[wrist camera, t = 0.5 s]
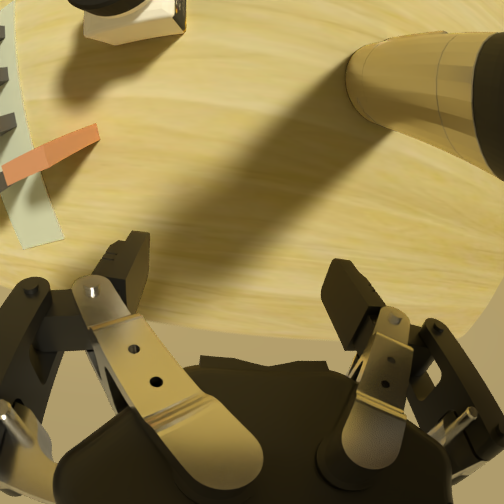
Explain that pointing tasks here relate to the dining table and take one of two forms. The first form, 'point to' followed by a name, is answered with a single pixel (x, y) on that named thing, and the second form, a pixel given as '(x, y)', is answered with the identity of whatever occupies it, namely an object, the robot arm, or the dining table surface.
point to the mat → (16, 144)
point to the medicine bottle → (131, 19)
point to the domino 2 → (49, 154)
